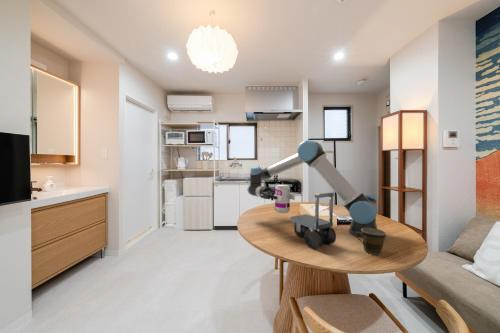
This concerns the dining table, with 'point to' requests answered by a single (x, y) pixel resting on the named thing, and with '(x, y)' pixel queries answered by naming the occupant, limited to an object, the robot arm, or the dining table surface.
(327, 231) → the trolley
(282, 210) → the supplement can
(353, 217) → the robot arm
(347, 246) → the dining table surface
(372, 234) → the ceramic cup
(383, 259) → the dining table surface
